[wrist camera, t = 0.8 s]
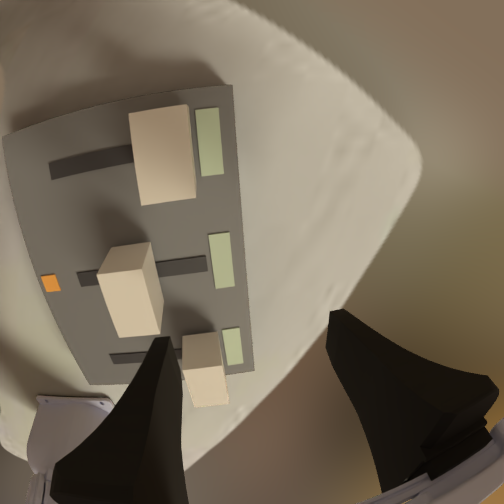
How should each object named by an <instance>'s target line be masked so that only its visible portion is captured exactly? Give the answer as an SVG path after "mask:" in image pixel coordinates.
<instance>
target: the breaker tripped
mask: <svg viewBox="0 0 504 504" xmlns="http://www.w3.org/2000/svg"><path fill="white" fill-rule="evenodd" d="M97 278H98V281H99V284H100V287H101V290H102V293H103V296H104V299H105V302H106V305H107V307H108V310H109V313H110V316H111V318H112V321H113V323H114V326H115V329H116V331H117V334H118V336H119V338H123V337H135V336H146V335H156V334H160V332H161V322H162V314H163V305H164V298H163V294H162V290H161V286H160V282H159V278H158V274H157V269H156V265H155V261H154V256H153V251H152V247H151V242H145V243H138V244H131V245H124V246H117V247H111V249H110V251H109V252H108V254H107V256H106V258H105V260H104V262H103V263H102V265H101V267H100V269H99V271H98V273H97Z"/></svg>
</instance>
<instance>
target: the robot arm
mask: <svg viewBox="0 0 504 504" xmlns="http://www.w3.org/2000/svg"><path fill="white" fill-rule="evenodd" d="M326 350H327V353H328V356H329V358H330V361H331V364H332V366H333V368H334V370H335V372H336V374H337V376H338V378H339V380H340V382H341V383H342V385H343V387H344V389H345V391H346V393H347V395H348V396H349V398H350V400H351V402H352V404H353V406H354V407H355V410H356V412H357V414H358V416H359V419H360V421H361V424H362V426H363V429H364V432H365V434H366V437H367V440H368V443H369V446H370V449H371V452H372V456H373V459H374V463H375V465H376V470H377V474H378V478H379V482H380V486H381V491H382V494H380V495H377V496H375V497H372V498H370V499H367V500H365V501H362V502H360V503H357V504H402V503H404V502H406V501H408V500H410V499H412V500H410V501H408V502H406V503H405V504H480V503H481V502H482V501H484V500H485V499H486V498H487V497H488V496H490V495H491V494H492V493H493V492H494V491H496V490H497V489H498V488H499V487H500V486H501V485H502V484H503V483H504V418H502V419H501V420H500V421H499V422H498V423H497V424H496V425H495V426H494V427H493V428H492V429H491V431H490V433H489V432H488V431H487V429H486V428H485V425H486V424H487V421H486V420H485V418H484V416H485V415H486V413H487V412H488V410H489V409H490V408H491V407H492V405H493V404H494V402H495V401H496V399H497V397H498V395H499V389H498V388H497V386H496V385H495V384H494V383H493V382H492V380H491V379H490V378H489V377H488V376H486V375H480V374H474V373H469V372H464V371H460V370H456V369H453V368H449V367H446V366H443V365H440V364H437V363H434V362H432V361H429V360H427V359H425V358H422V357H420V356H418V355H416V354H414V353H412V352H409V351H407V350H406V349H404V348H402V347H400V346H399V345H397V344H395V343H394V342H392V341H390V340H389V339H387V338H385V337H384V336H382V335H381V334H379V333H378V332H376V331H375V330H373V329H372V328H370V327H369V326H367V325H366V324H364V323H363V322H362V321H360V320H359V319H357V318H356V317H354V316H353V315H352V314H350V313H349V312H348V311H346V310H345V309H340V310H335V311H330V315H329V324H328V332H327V341H326ZM182 397H183V391H182V378H181V370H180V366H179V363H178V360H177V357H176V354H175V351H174V347H173V344H172V341H171V337H170V336H165V337H155V338H154V340H153V341H152V343H151V346H150V348H149V350H148V352H147V354H146V356H145V358H144V360H143V362H142V363H141V365H140V367H139V369H138V371H137V372H136V374H135V376H134V378H133V379H132V381H131V383H130V384H129V386H128V387H127V389H126V391H125V392H124V394H123V395H122V397H121V398H120V400H119V401H118V403H117V404H116V405H115V406H114V404H113V403H112V401H111V400H110V399H108V398H78V397H55V396H40V395H38V396H37V397H36V400H37V401H38V403H39V406H38V409H37V412H36V416H35V419H34V422H33V425H32V429H31V432H30V435H29V439H28V443H27V458H28V462H29V465H30V467H31V469H32V470H33V472H34V473H35V474H34V475H32V477H31V480H30V483H29V487H28V492H27V497H26V504H189V502H188V497H187V491H186V484H185V477H184V469H183V460H182V451H181V424H182Z"/></svg>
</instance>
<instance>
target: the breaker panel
mask: <svg viewBox="0 0 504 504" xmlns="http://www.w3.org/2000/svg"><path fill="white" fill-rule="evenodd" d="M184 104H187V105H188V106H189V114H190V125H191V136H192V146H193V156H194V165H195V174H196V198H192V199H184V200H177V201H170V202H163V203H156V204H150V205H143V206H141V201H140V195H139V189H138V183H137V177H136V170H135V163H134V156H133V149H132V141H131V133H130V124H129V113H134V112H140V111H145V110H151V109H157V108H163V107H170V106H177V105H184ZM2 142H3V149H4V155H5V162H6V167H7V173H8V178H9V183H10V188H11V192H12V196H13V201H14V205H15V209H16V213H17V216H18V220H19V224H20V227H21V231H22V234H23V237H24V241H25V244H26V247H27V250H28V253H29V256H30V259H31V262H32V265H33V267H34V270H35V273H36V275H37V278H38V281H39V283H40V286H41V288H42V291H43V293H44V296H45V298H46V300H47V303H48V305H49V307H50V310H51V312H52V314H53V316H54V319H55V321H56V323H57V325H58V327H59V329H60V331H61V333H62V335H63V337H64V339H65V341H66V343H67V345H68V347H69V349H70V351H71V353H72V355H73V356H74V358H75V360H76V362H77V364H78V366H79V367H80V369H81V371H82V373H83V374H84V376H85V378H86V379H87V381H88V383H89V384H90V385H115V384H130V383H131V381H132V379H133V378H134V376H135V374H136V372H137V371H138V369H139V367H140V365H141V363H142V362H143V360H144V358H145V356H146V354H147V352H148V350H149V348H150V346H151V343H152V341H153V340H154V338H155V337H165V336H170V337H171V341H172V344H173V347H174V351H175V354H176V357H177V360H178V363H179V366H180V370H181V378H182V380H185V377H184V374H183V371H182V336H186V335H194V334H202V333H210V332H218V337H219V342H220V348H221V354H222V359H223V364H224V370H225V375H230V374H237V373H244V372H250V371H255V370H254V358H253V346H252V334H251V322H250V310H249V298H248V286H247V273H246V261H245V248H244V236H243V223H242V210H241V197H240V183H239V170H238V156H237V143H236V129H235V115H234V101H233V86H232V85H220V86H209V87H199V88H190V89H182V90H175V91H168V92H161V93H155V94H149V95H144V96H138V97H133V98H128V99H124V100H119V101H114V102H110V103H106V104H102V105H97V106H93V107H90V108H86V109H82V110H79V111H75V112H72V113H68V114H65V115H62V116H58V117H55V118H52V119H49V120H46V121H43V122H40V123H37V124H34V125H32V126H29V127H26V128H23V129H21V130H18V131H16V132H13V133H11V134H8V135H6V136H3V137H2ZM145 242H151V247H152V251H153V256H154V261H155V265H156V269H157V274H158V278H159V282H160V286H161V290H162V294H163V298H164V305H163V314H162V322H161V332H160V334H156V335H146V336H135V337H123V338H119V336H118V334H117V331H116V329H115V326H114V323H113V321H112V318H111V316H110V313H109V310H108V307H107V305H106V302H105V299H104V296H103V293H102V290H101V287H100V284H99V281H98V278H97V273H98V271H99V269H100V267H101V265H102V263H103V262H104V260H105V258H106V256H107V254H108V252H109V251H110V249H111V247H117V246H124V245H131V244H138V243H145Z"/></svg>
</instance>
